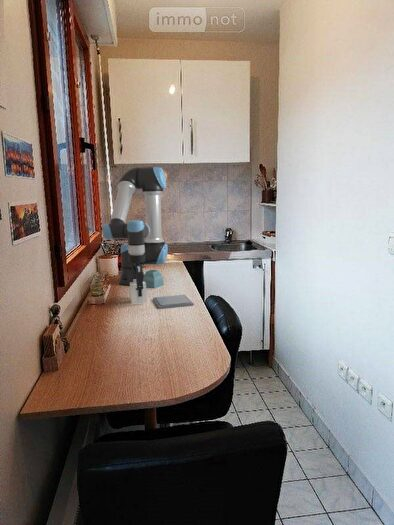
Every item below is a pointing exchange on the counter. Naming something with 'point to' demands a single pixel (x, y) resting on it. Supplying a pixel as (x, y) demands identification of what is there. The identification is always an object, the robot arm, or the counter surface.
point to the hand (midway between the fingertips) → (138, 299)
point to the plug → (134, 292)
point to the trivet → (172, 301)
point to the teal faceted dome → (153, 279)
